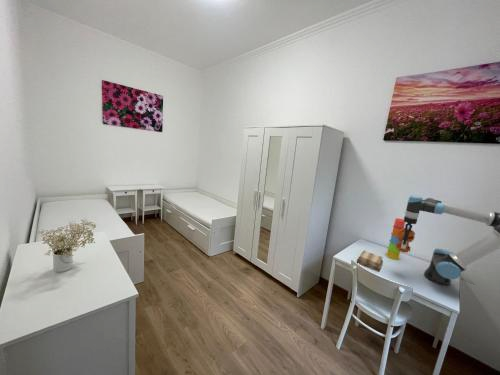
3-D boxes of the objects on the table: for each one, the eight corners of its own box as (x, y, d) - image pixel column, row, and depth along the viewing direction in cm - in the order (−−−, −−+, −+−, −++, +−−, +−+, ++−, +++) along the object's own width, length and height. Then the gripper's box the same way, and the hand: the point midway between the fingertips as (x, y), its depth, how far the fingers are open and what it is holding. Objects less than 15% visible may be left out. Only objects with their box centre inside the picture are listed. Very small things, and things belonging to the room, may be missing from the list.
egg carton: (382, 263, 174) (384, 257, 173) (379, 271, 162) (380, 264, 161) (361, 256, 184) (362, 249, 183) (356, 262, 172) (357, 256, 170)
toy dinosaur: (414, 255, 152) (421, 231, 148) (397, 253, 154) (403, 229, 150) (407, 248, 162) (412, 226, 159) (391, 246, 164) (396, 223, 161)
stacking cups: (400, 261, 181) (410, 222, 174) (386, 257, 185) (395, 219, 178) (398, 255, 190) (407, 219, 183) (384, 252, 195) (393, 216, 187)
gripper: (405, 212, 163) (399, 239, 168) (403, 219, 146) (395, 249, 151) (418, 215, 159) (411, 243, 163) (416, 222, 142) (408, 253, 146)
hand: (403, 246), depth 157 cm, fingers closed on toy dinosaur, 10 cm apart
